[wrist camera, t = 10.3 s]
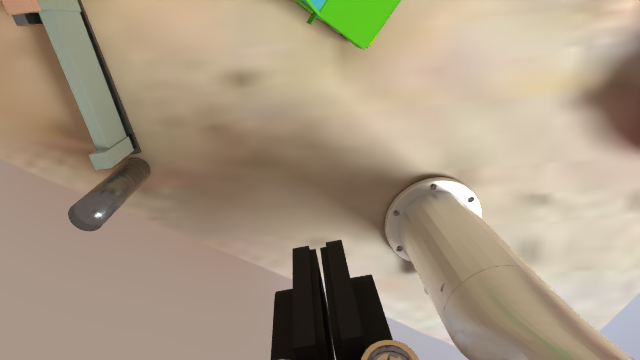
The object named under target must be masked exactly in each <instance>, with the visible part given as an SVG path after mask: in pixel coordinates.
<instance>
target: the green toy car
mask: <svg viewBox="0 0 640 360" xmlns="http://www.w3.org/2000/svg"><path fill="white" fill-rule="evenodd" d="M295 1H296V2H297V3H298V4H300V5H301V6H302V7H304V8H305V9H306V10H307V11H309V12H310V13H311V14H312V15H311V17H310V18H309V20H308V21H307V23H309V24H312V23H313V21H314V20H315V19H316V18H318V19H319V20H320V21H323V22H325V23H326V24H327V25H328V26H330V28H332V29H333V30H334V31H335V32H337V33H338V34H340V35H342V36H343V37H344V38H346V39H347V40H348V41H350V42H351V43H352V44H354V45H355V46H357V47H359V48H361V49H365V48H368V46H371V44H372V43H373V41H374V40H375V39H376V37H377V36H378V32H379V31H380V29H381V28H382V26H383V25H384V24H385V22H386V21H387V19H388V18H389V17H390V15H391V14H392V12H393V11H394V9H395V8H396V7H397V5H398V4H399V2H400V1H401V0H295Z"/></svg>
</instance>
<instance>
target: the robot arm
mask: <svg viewBox="0 0 640 360" xmlns="http://www.w3.org/2000/svg"><path fill="white" fill-rule="evenodd" d="M431 184H432V185H431ZM395 210H396V211H395ZM385 234H386V238H387V240H388V242H389V244H390V246H391V248H392V249H393V251H394V252H395V253H396V254H397V255H398V256H400V257H402V258H403V259H405V260H407V261H410V262H412V263H413V265H414V267H415V269H416V271H417V273H418V275H419V277H420V279H421V281H422V283H423V285H424V291H425V293H427V294H428V295H429V296H430V298H431V300H432V302H433V304H434V306H435V308H436V310H437V312H438V314H439V316H440V318H441V320H442V322H443V324H444V326H445V328H446V330H447V332H448V334H449V336H450V337H451V339H452V341H453V343H454V344H455V346H456V347H457V348H458V349H459V350H460V352H461V353H462V354H463V355H464V356H465V357H466V358H467V359H469V360H634V359H633V358H631V357H630V356H629V355H628V354H626V353H625V352H624V351H622V350H621V349H620V348H618V347H617V346H616V345H615V344H613V343H612V342H611V341H609V340H608V339H607V338H606V337H604V336H603V335H602V334H601V333H600V332H598V331H597V330H596V329H595V328H594V327H592V326H591V325H590V324H589V323H588V322H586V321H585V320H584V319H583V318H582V317H581V316H580V315H579V314H577V313H576V312H575V311H574V310H573V309H572V308H571V307H570V306H569V305H568V304H567V303H566V302H565V301H564V300H563V299H562V298H560V297H559V296H558V295H557V294H556V293H555V292H554V291H553V290H552V289H551V288H550V287H549V286H548V285H547V284H546V283H545V282H544V281H543V280H542V279H541V278H540V277H539V276H538V275H537V274H536V273H535V272H534V271H533V270H532V269H531V268H530V267H529V266H528V265H527V264H526V263H525V262H524V261H523V260H522V259H521V258H520V257H519V256H518V255H517V254H516V253H515V252H514V251H513V250H512V249H511V248H510V247H509V246H508V245H507V244H506V243H505V242H504V241H503V240H502V239H501V238H500V237H499V236H498V234H497V233H496V232H495V231H494V230H493V229H492V228H491V227H490V226H489V225H488V224H487V223H486V222H485V221H484V220H483V219H482V210H481V205H480V202H479V200H478V198H477V196H476V195H475V193H474V192H473V191H472V190H471V189H470V188H468V187H467V186H466V185H465V184H463V183H461V182H459V181H457V180H455V179H451V178H445V177H435V178H428V179H425V180H422V181H418V182H416V183H414V184H412V185H411V186H409V187H408V188H406V189H405V190H403V191H402V192H401V193H400V194H399V195H398V196H397V197H396V198H395V199H394V201H393V202H392V204H391V205H390V207H389V209H388V212H387V214H386V218H385ZM320 250H321V257H322V265H323V273H324V281H325V288H326V296H327V302H326V297H325V293H324V288H323V283H322V278H321V273H320V268H319V263H318V258H317V254H316V249H312V250H310V249H309V246H304V247H299V248H293V289H288V290H283V291H277V292H276V293H275V301H274V317H273V334H272V349H271V360H335V358H334V351H335V356H336V360H419V359H418V357H417V355H416V354H415V353H414V352H413V350H412V349H411V348H409V347H408V346H407V345H405V344H403V343H401V342H398V341H393V339H392V336H391V333H390V330H389V327H388V324H387V321H386V317H385V314H384V311H383V308H382V305H381V302H380V299H379V296H378V293H377V289H376V286H375V283H374V280H373V277H372V275H365V276H360V277H354V278H350V275H349V271H348V266H347V262H346V258H345V254H344V249H343V245H342V241H341V240H337V241H332V242H326V247H323V248H320ZM327 304H328V307H327ZM328 312H329V313H328ZM331 334H332V335H331ZM332 341H333V342H332ZM333 346H334V350H333Z"/></svg>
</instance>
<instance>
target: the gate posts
mask: <svg viewBox="0 0 640 360" xmlns="http://www.w3.org/2000/svg"><path fill="white" fill-rule="evenodd" d="M77 1H78V3H79V6H80V9H81V11H82V12H80V15H81V17H82V20H83V22H84V25H85V28H86V30H87V33H88V36H89V38H90V41H91V44H92V46H93V49H94V51H95V54H96V57H97V59H98V62H99V65H100V67H101V70H102V73H103V75H104V78H105V80H106V83H107V86H108V88H109V91H110V94H111V96H112V99H113V102H114V104H115V107H116V109H117V112H118V115H119V117H120V120H121V123H122V125H123V128H124V131H125V133H126V136H127V137H129V139H130V141H131V144H132V147H133V149H134V151H133V152H131V153H130V154H136V153H140V152H141V149H140V147H139V144H138V142H137V139H136V137H135V134H134V132H133V130H132V127H131V125H130V122H129V120H128V117H127V115H126V112H125V110H124V107H123V105H122V102H121V100H120V97H119V95H118V92H117V90H116V87H115V85H114V82H113V80H112V77H111V75H110V72H109V70H108V67H107V65H106V62H105V60H104V57H103V55H102V52H101V50H100V47H99V45H98V42H97V40H96V37H95V35H94V32H93V30H92V27H91V25H90V22H89V20H88V17H87V15H86V12H85V10H84V7H83V5H82V3H81V0H77ZM12 16H13V18H14V20H15V22H16V24H17V26H44V24H43V22H42V20H41V17H40V15H39V13H35V12H31V13H24V14H17V15H12ZM130 154H129V155H130ZM149 175H150V167H149V165H148V164H147V163H146V162H145V161H143V160H142V159H139V158H132V159H130V160H128V161H127V162H126V163H124V164H123V165H122V166H121V167H119V168H118V169H117V170H116V171H115V172H113V173H112V174H111V175H110V176H108V177H107V178H106V179H105V180H104V181H102V182H101V183H100V184H99V185H97V186H96V187H95V188H94V189H93V190H91V191H90V192H89V193H88V194H86V195H85V196H84V197H83V198H82V199H80V200H79V201H78V202H77V203H75V204H74V205H73V206H72V207H71V208H70V209H69V213H68V215H69V219H70V221H71V223H72V224H73V225H74V226H76V227H77V228H79V229H81V230H84V231H95V230H97V229H99V228H100V227H101V226H102V225H103V224H104V223H105V222H106V220H108V219H109V218H110V216H112V214H113V213H114V212H115V211H116V210H117V209H118V208H119V207H120V206H121V205H122V204H123V203H124V202H125V201H126V200H127V199H128V198H129V197H130V196H131V195H132V193H133V192H134V191H135V190H136V189H137V188H138V187H139V186H140V185H141V184H142V183H143V182H144V181H145V180H146V179H147V178H148V177H149Z"/></svg>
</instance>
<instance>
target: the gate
mask: <svg viewBox="0 0 640 360" xmlns="http://www.w3.org/2000/svg"><path fill="white" fill-rule="evenodd" d="M1 1H2V3H3V5H4V7H5V9H6V11H7V14H11V15H17V14H24V13H31V12H35V13H39V15H40V17H41V20H42V22H43V24H44V27H45V29H46V31H47V34H48V36H49V39H50V41H51V43H52V46H53V48H54V50H55V53H56V55H57V57H58V60H59V62H60V65H61V67H62V69H63V72H64V74H65V76H66V79H67V81H68V83H69V86H70V88H71V90H72V93H73V95H74V98H75V100H76V102H77V105H78V107H79V109H80V112H81V114H82V116H83V119H84V121H85V124H86V126H87V128H88V131H89V133H90V135H91V138H92V140H93V142H94V145H95V147H96V149H97V150H96V151H94V152H92V153H91V154H89V158H90V160H91V162H92V164H93V167H94V169H95V170H101V169H108V168H112V167H113V166H115V165H116V164H117V163H119V162H120V161H121V160H122V159H124V158H125V157H126V156H127V155H129V154H130V153H131V152H133V151H134V149H133V147H132V144H131V141H130V139H129V137H127V136H126V133H125V131H124V128H123V125H122V123H121V120H120V117H119V115H118V112H117V109H116V107H115V104H114V102H113V99H112V96H111V94H110V91H109V88H108V86H107V83H106V80H105V78H104V75H103V73H102V70H101V67H100V65H99V62H98V59H97V57H96V54H95V51H94V49H93V46H92V44H91V41H90V38H89V36H88V33H87V30H86V28H85V25H84V22H83V20H82V17H81V15H80V12H82V11H81V9H80V6H79V3H78V1H77V0H1Z"/></svg>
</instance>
